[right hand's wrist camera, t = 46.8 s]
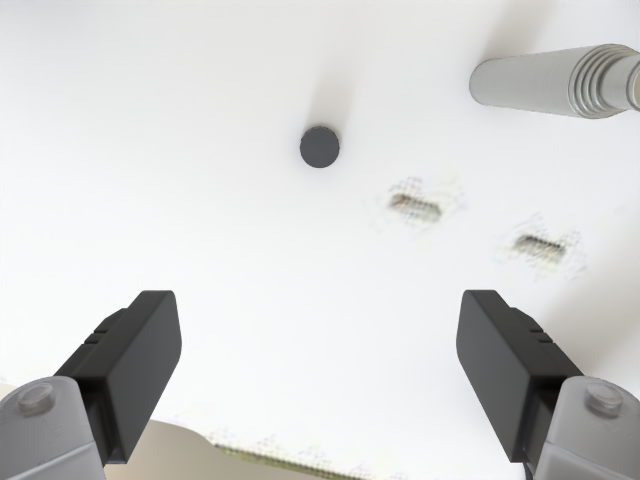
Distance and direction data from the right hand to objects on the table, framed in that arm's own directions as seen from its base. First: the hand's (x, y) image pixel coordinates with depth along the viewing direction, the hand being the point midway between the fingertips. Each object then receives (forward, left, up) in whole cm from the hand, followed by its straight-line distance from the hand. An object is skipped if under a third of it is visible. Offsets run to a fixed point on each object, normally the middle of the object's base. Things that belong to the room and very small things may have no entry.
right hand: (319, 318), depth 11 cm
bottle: (+3, +18, -34) cm, 38 cm away
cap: (0, 0, -32) cm, 32 cm away
